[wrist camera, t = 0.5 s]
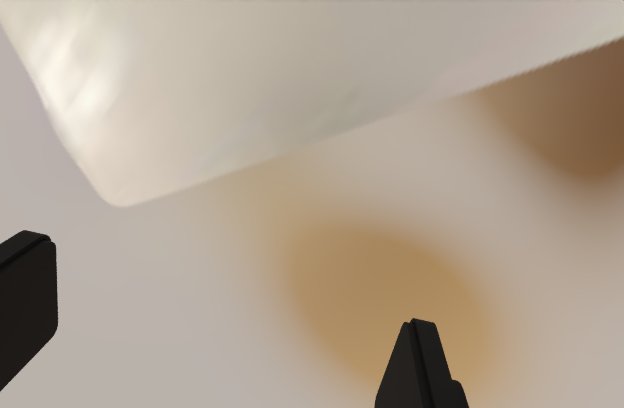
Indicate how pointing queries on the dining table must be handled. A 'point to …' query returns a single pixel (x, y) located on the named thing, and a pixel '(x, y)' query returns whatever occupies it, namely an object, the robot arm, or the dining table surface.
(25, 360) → the robot arm
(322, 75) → the dining table surface
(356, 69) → the dining table surface
